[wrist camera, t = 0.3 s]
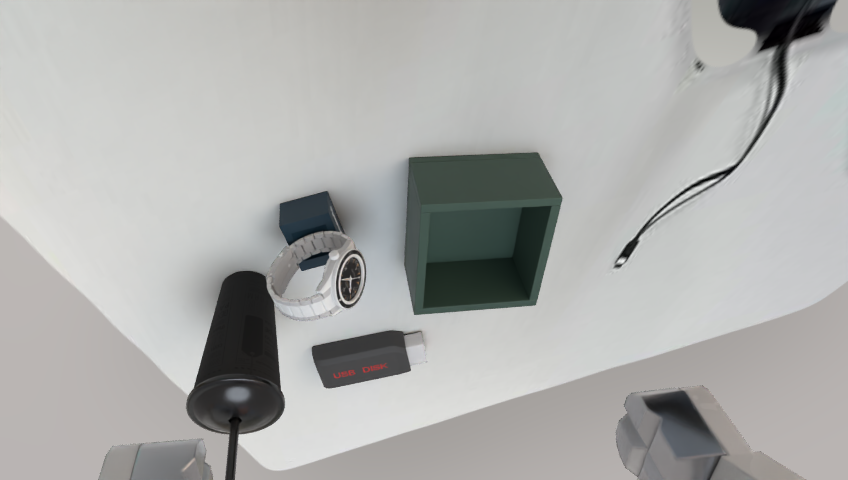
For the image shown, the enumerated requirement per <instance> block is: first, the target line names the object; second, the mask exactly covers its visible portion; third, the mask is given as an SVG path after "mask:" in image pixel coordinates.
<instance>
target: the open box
mask: <svg viewBox="0 0 848 480" xmlns="http://www.w3.org/2000/svg"><path fill="white" fill-rule="evenodd" d="M561 202H562V196H561V194H560V192H559V190H558V189H557V187H556V185H555V183H554V181H553V179H552V178H551V176H550V174H549V172H548V170H547V168H546V167H545V165H544V163H543V161H542V159H541V158H540V156H539V154H538V153H518V154H493V155H468V156H442V157H417V158H409V175H408V197H407V219H406V241H405V263H404V265H405V270H406V275H407V281H408V286H409V291H410V296H411V301H412V306H413V312H414V315H420V314H432V313H445V312H458V311H470V310H483V309H495V308H508V307H521V306H533V305H536V302H537V299H538V295H539V291H540V287H541V283H542V279H543V275H544V271H545V267H546V263H547V259H548V255H549V251H550V247H551V243H552V239H553V235H554V231H555V227H556V223H557V219H558V215H559V210H560V206H561Z"/></svg>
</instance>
